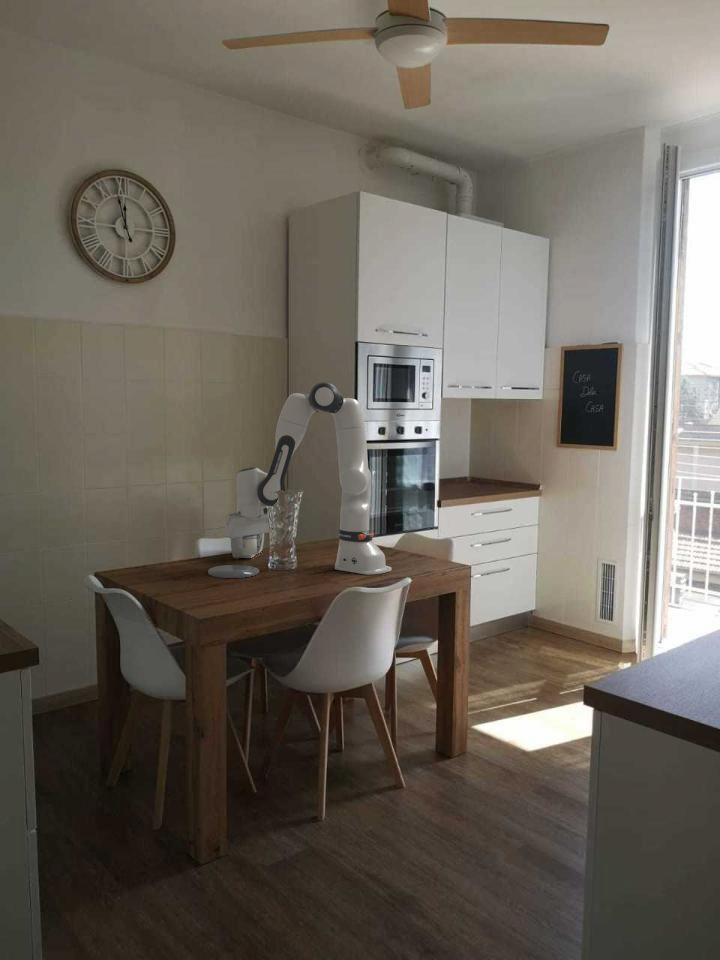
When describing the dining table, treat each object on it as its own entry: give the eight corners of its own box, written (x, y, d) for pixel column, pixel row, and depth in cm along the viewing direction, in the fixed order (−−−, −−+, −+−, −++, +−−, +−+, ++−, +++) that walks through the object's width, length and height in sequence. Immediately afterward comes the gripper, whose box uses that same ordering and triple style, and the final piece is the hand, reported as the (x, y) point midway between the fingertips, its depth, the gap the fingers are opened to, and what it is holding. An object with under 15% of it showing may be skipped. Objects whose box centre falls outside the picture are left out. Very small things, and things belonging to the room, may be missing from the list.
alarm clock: (248, 561, 296) (249, 510, 294) (230, 560, 297) (230, 509, 295) (264, 551, 317) (264, 503, 315) (246, 550, 318) (247, 502, 316)
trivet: (269, 573, 275) (269, 571, 275) (227, 581, 263) (227, 578, 263) (238, 565, 288) (238, 562, 288) (198, 572, 275) (198, 569, 275)
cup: (260, 553, 289) (260, 535, 288) (248, 556, 285) (247, 537, 284) (251, 551, 293) (250, 533, 292) (238, 554, 289) (238, 535, 288)
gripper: (231, 514, 278) (232, 551, 279) (274, 508, 292) (275, 544, 293) (220, 512, 282) (221, 549, 283) (264, 507, 296) (265, 542, 298)
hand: (249, 546), depth 289 cm, fingers closed on cup, 5 cm apart
